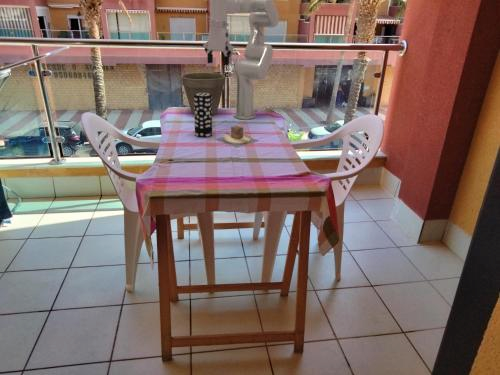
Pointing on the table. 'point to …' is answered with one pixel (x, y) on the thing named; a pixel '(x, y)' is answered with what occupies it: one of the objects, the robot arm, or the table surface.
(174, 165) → the table surface
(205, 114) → the polka dot cylinder
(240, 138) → the lid
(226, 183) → the table surface
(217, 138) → the mat
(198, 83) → the plant pot
